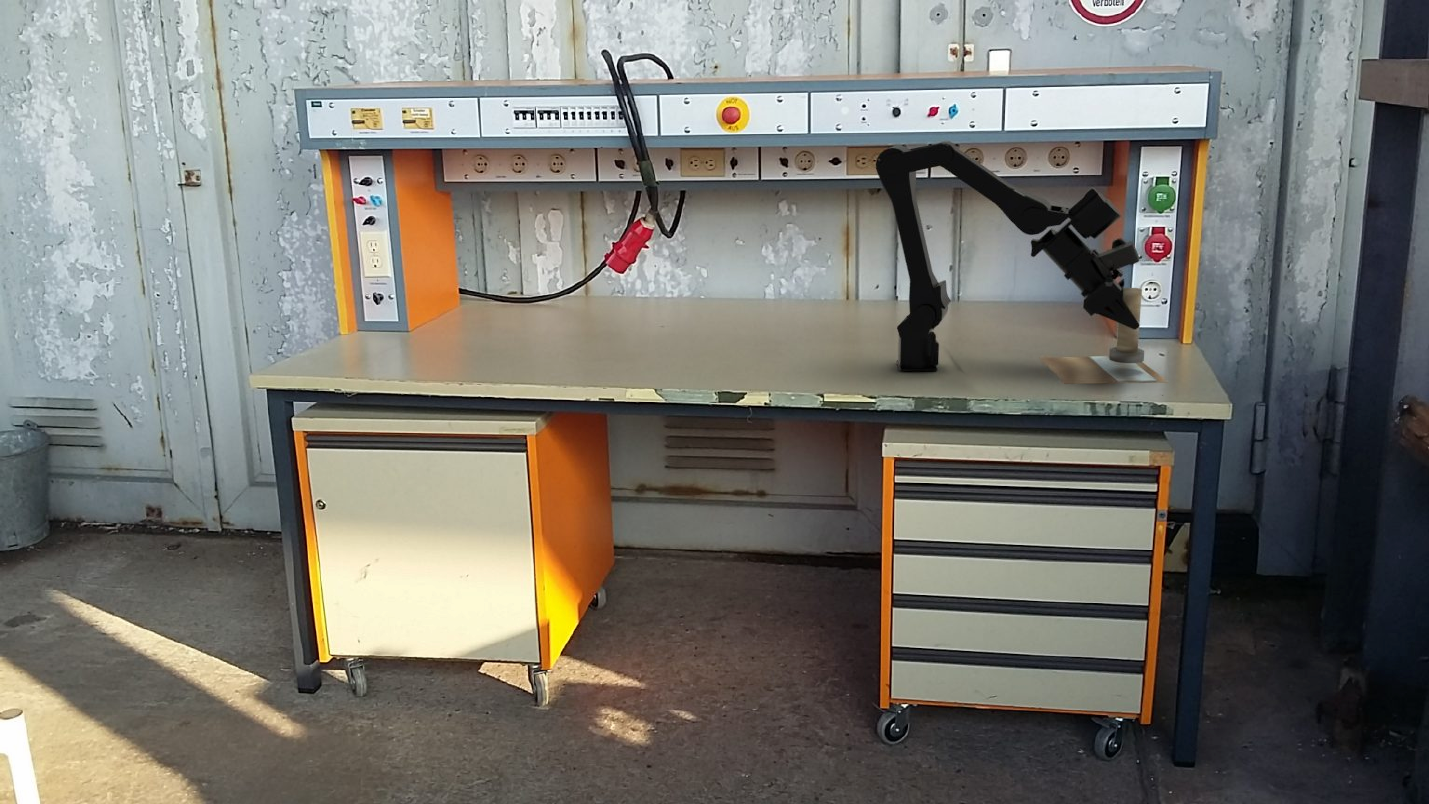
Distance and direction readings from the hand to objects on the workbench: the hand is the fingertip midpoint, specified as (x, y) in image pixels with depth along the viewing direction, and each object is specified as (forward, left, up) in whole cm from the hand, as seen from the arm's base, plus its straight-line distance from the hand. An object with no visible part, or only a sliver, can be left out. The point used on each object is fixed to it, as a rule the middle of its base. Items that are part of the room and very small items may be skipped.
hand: (1137, 325), depth 205 cm
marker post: (-1, 0, -6) cm, 6 cm away
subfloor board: (-5, +3, -9) cm, 11 cm away
